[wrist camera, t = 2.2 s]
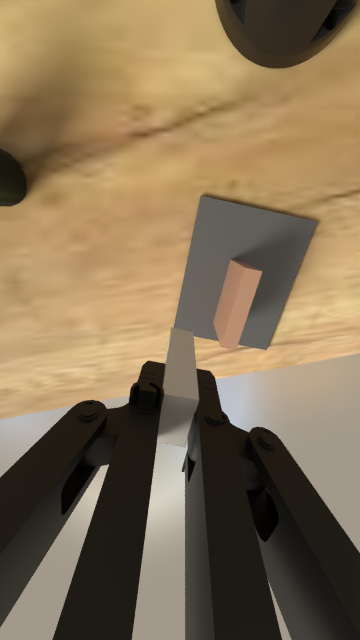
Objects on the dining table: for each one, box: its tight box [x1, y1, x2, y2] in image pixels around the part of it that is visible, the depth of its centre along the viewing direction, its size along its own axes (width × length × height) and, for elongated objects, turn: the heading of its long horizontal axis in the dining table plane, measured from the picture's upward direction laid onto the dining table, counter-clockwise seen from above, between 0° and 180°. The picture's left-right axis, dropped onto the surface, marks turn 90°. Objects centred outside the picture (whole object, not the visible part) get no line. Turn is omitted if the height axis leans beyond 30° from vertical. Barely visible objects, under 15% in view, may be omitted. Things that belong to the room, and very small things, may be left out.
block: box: [213, 260, 263, 350], centre depth 29 cm, size 10×2×8 cm, turn 169°
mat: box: [174, 196, 317, 350], centre depth 33 cm, size 20×16×1 cm
